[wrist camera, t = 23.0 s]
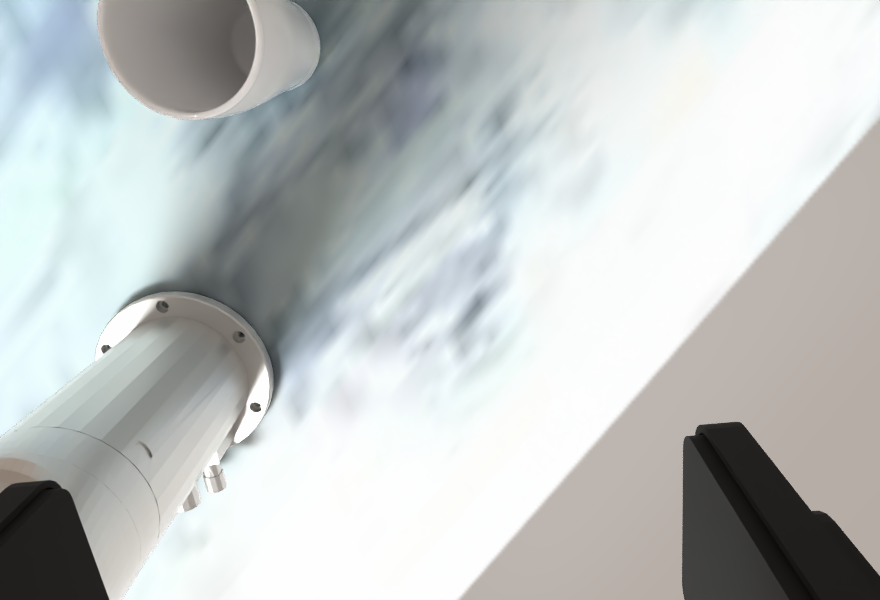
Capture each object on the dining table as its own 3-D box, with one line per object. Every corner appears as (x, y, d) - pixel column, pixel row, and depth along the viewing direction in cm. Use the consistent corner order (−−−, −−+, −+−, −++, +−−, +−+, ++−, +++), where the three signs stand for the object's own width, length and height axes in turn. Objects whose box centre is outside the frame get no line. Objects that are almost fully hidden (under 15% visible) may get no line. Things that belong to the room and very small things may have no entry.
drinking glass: (314, -30, 38) (228, -87, 24) (348, 87, 40) (287, 98, 26) (207, 1, 39) (63, -36, 25) (246, 115, 41) (134, 140, 27)
